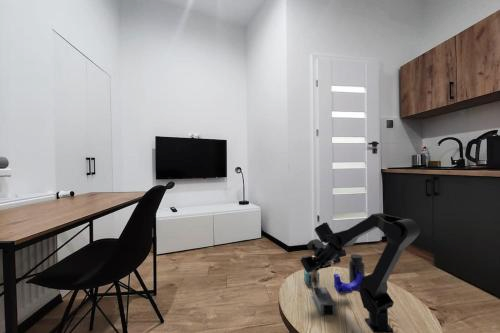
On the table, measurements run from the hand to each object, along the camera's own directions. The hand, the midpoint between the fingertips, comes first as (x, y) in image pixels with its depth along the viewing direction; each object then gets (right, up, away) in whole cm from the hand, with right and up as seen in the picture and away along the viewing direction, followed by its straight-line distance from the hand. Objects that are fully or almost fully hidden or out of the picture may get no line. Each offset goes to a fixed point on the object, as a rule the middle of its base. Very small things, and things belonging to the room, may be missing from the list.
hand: (311, 269), depth 110 cm
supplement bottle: (+22, -7, +3) cm, 23 cm away
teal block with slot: (+1, -8, +4) cm, 9 cm away
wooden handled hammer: (+1, -7, -5) cm, 8 cm away
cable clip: (+16, -8, -3) cm, 18 cm away
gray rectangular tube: (0, -7, -16) cm, 18 cm away
